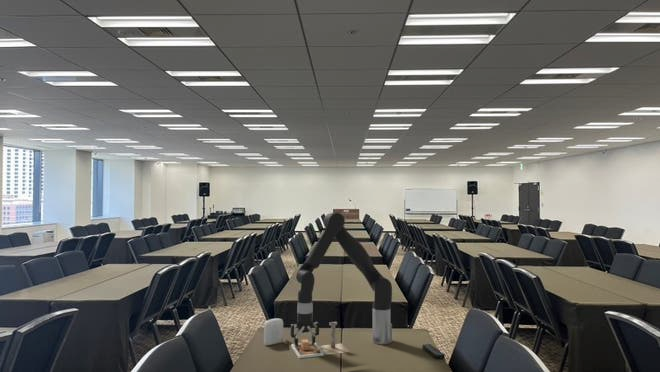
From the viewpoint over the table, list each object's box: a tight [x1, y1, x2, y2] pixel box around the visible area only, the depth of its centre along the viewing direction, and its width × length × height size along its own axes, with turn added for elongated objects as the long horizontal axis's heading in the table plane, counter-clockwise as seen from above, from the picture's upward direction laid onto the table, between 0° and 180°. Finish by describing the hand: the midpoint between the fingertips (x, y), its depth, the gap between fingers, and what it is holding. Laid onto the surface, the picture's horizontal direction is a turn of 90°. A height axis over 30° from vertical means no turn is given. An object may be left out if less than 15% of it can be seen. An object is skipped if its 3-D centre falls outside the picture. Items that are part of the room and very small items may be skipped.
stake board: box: [318, 321, 351, 356], centre depth 199 cm, size 12×12×14 cm
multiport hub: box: [421, 343, 446, 360], centre depth 197 cm, size 4×14×2 cm, turn 14°
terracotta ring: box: [298, 338, 319, 355], centre depth 197 cm, size 8×13×4 cm
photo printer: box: [263, 317, 284, 346], centre depth 211 cm, size 10×4×12 cm, turn 123°
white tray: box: [291, 341, 325, 359], centre depth 196 cm, size 12×16×2 cm
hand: (304, 344), depth 201 cm, fingers open, 7 cm apart
